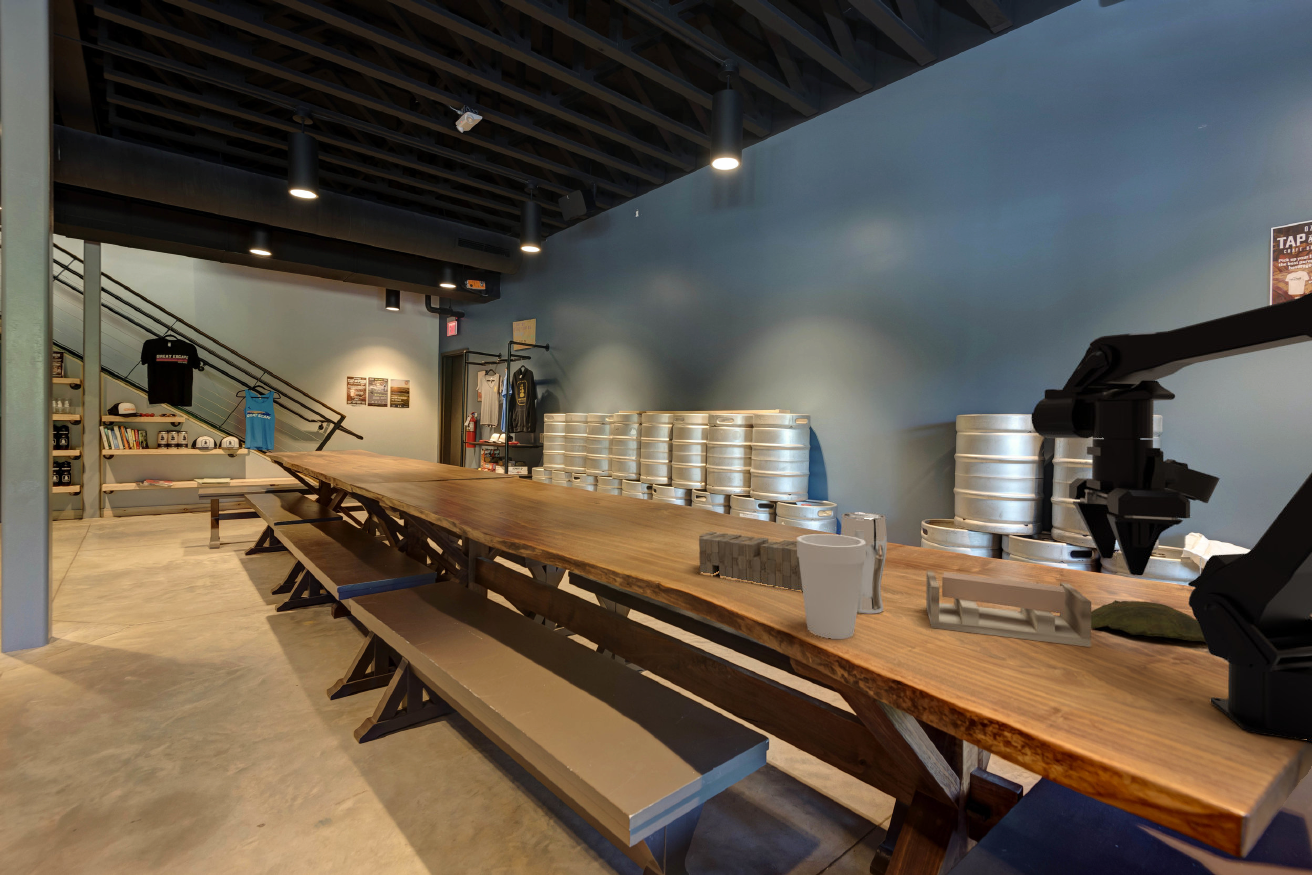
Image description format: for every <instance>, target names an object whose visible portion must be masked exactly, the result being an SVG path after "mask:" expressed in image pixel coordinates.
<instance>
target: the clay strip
mask: <svg viewBox="0 0 1312 875" xmlns="http://www.w3.org/2000/svg"><path fill="white" fill-rule="evenodd" d="M941 577H942V579H941V581H942V582H941V583H942V584H941V585H942V586H941V589H942V590H941V597H942V598H948V599H949V598H950V599H954V598H955V599H962V600H969V601H975V603H976V602H978V603H984V604H992V605H998V606H1005V607H1013V608H1020V609H1021V608H1025V609H1032V610H1039V611H1046V612H1051V613H1052V614H1054V613H1055V614H1060V613H1061V614H1065V592H1064V589H1063V586H1060V585H1053V584H1044V583H1038V582H1030V581H1022V580H1014V579H1013V580H1012V579H1005V578H996V577H988V576H987V577H986V576H982V575H981V576H979V575H971V574H965V573H964V574H963V573H956V572H955V573H954V572H947V571H944V572H943V574H942V576H941Z"/></svg>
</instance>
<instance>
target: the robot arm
mask: <svg viewBox="0 0 1312 875" xmlns="http://www.w3.org/2000/svg"><path fill="white" fill-rule="evenodd" d="M1305 342H1312V291H1311V292H1308V293H1306V294H1304V295H1302V296H1300V297H1297V298H1294V299H1288V300H1286V301H1282V302H1278V303H1274V304H1270V305H1266V306H1265V305H1264V306H1261V307H1258V308H1253V309H1250V310H1245V311H1243V312H1238V313H1235V314H1230V315H1226V316H1222V317H1218V318H1215V319H1214V318H1213V319H1210V320H1206V321H1202V322H1199V323H1195V324H1190V325H1186V326H1183V327H1177V328H1175V329H1172V330H1171V329H1170V330H1166V331H1154V332H1153V331H1152V332H1133V333H1124V334H1111V335H1103V336H1100V337H1097V338H1095V339H1093V340H1092V341H1091V342H1089V346H1088V348H1087V349H1086V351H1085V354H1084V356H1083V357H1082V359H1081V360H1080V362H1079V363H1078V364H1077V366H1076V367H1075V369H1074V371H1073V372H1072V374H1071V375H1070V376H1069V378H1068V379H1067V381H1066V383H1065V385H1064V386H1063V388H1062V389H1059V388H1058V389H1057V388H1051V389H1049V388H1048V389H1045V390H1044V397H1043V398H1042V399H1041V400H1039V401H1038V403H1037V404H1036V405H1035V407H1034V409H1033V412H1032V413H1031V424H1032V427H1033V429H1034V431H1035V432H1036V433H1037V435H1039V436H1041V437H1042V438H1046V439H1089V438H1092V443H1091V444H1092V445H1091V446H1086V455H1088V456H1089V455H1090V456H1091V460H1092V461H1091V466H1092V468H1091V478H1085V477H1081V478H1080V477H1077V478H1075V479H1074V480H1073V481H1071V482H1070V483H1069V484H1068V485H1069V486H1068V498H1070V499H1072V500H1073V501H1072V505H1073V506H1074V507H1075V509H1076V510H1077V513H1078V514H1079V516H1080V519H1082V522H1083V524H1084V525H1085V528H1086V530H1087V532H1088V534H1089V535H1090V537H1091V539H1092V541H1093V543H1094V546H1095V548H1096V550H1097V552H1098V553H1099V556H1100V557H1101V558H1102V559H1109V560H1110V559H1112V558H1113V556H1114V553H1115V548H1116V544H1117V545H1118V548H1119V550H1120V553H1121V555H1122V558H1123V560H1124V562H1125V565H1126V568H1127V571H1128V572H1129V574H1130V575H1133V576H1143V575H1144V574H1145V571H1146V568H1147V566H1148V563H1149V561H1150V559H1151V556H1152V554H1153V551H1154V549H1155V546H1156V544H1157V542H1158V540H1159V538H1160V536H1161V534H1162V533H1163V532H1165V531H1167V530H1168V529H1171V527H1174V526H1175V525H1176V526H1177V525H1181V524H1182V523H1183V522H1184V520H1183V519H1191V501H1194V502H1195V501H1199V502H1202V503H1204V504H1208V503H1209V502H1210V500H1211V497H1212V495H1213V494H1214V491H1215V489H1216V487H1217V485H1218V483H1219V481H1220V478H1219V477H1218V476H1215V475H1211V474H1209V473H1205V472H1202V471H1198V470H1195V469H1192V468H1189V464H1188V463H1186V462H1181V461H1176V459H1171V458H1167V459H1165V460H1164V451H1163V450H1161V448H1160V447H1154V402H1155V401H1173V400H1174V399H1175V398H1176V395H1175V393H1174V392H1172V391H1170V390H1169V389H1167V388H1165V387H1164V386H1162V385H1161V384H1160V382H1159V381H1158V380H1160V379H1162V378H1165V377H1168V376H1171V375H1174V374H1176V373H1177V372H1179V371H1181V370H1182V369H1183V368H1186V367H1188V366H1192V365H1194V364H1198V363H1203V362H1208V361H1214V360H1218V359H1219V360H1220V359H1222V358H1223V359H1225V358H1228V357H1234V356H1239V355H1244V354H1249V353H1255V352H1260V351H1265V350H1269V349H1276V348H1280V347H1285V346H1290V345H1295V344H1300V343H1305ZM1116 542H1117V543H1116ZM1187 585H1188V587H1193V588H1194V589H1192V590H1191V592H1190V595H1189V597H1188V606H1189V608H1191V610H1192V613H1193V616H1194V619H1196V620H1197V621H1198V623H1199V625H1200V628H1201V630H1202V633H1203V636H1204V639H1205V641H1206V642H1205V644H1206V646H1207V647H1206V648H1207V650H1208V652H1209V654H1210V655H1212V656H1214V657H1218V658H1220V659H1223V660H1224V661H1227V662H1228V677H1227V678H1228V679H1227V680H1228V686H1227V687H1228V688H1227V689H1228V691H1227V692H1228V693H1227V695H1228V696H1227V698H1221V697H1210V703H1211V704H1212V705H1213V706H1214V707H1215V708H1217V709H1218V710H1219V711H1221V712H1222V713H1224V715H1225V716H1227V717H1228V718H1229V719H1230V720H1232V721H1233V722H1234V723H1236V724H1237V725H1238V726H1239V727H1240V728H1241V729H1242V730H1245V731H1247V732H1251V733H1256V734H1263V735H1270V736H1275V737H1276V736H1277V737H1283V738H1289V739H1294V738H1295V740H1301V739H1307V740H1308V742H1312V472H1310V474H1309V475H1308V477H1307V478H1306V479H1305V481H1304V482H1303V483H1302V484H1301V485H1300V486H1299V488H1298V489H1297V491H1296V492H1295V493H1294V495H1292V497H1291V499H1290V500H1289V501H1288V502H1287V504H1286V505H1285V506H1284V508H1283V509H1282V510H1281V512H1280V513H1279V514H1278V515H1277V517H1276V518H1275V519H1274V520H1273V522H1271V524H1270V525H1269V527H1268V528H1267V529H1266V531H1265V532H1264V533H1263V534H1262V536H1261V537H1260V538H1259V540H1258V541H1257V542H1256V544H1255V545H1254V546H1253V547H1252V549H1250V550H1249V551H1248V552H1246V553H1233V554H1229V553H1227V554H1212V555H1211V556H1210V557H1209V558H1208V560H1206V562H1205V564H1204V566H1203V569H1202V571H1201V573H1200V574H1199V575H1198V576H1197V577H1196V578H1195V579H1194V580H1192V581H1189V582H1188V583H1187ZM1307 740H1306V741H1307Z"/></svg>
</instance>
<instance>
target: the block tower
mask: <svg viewBox="0 0 1312 875" xmlns="http://www.w3.org/2000/svg"><path fill="white" fill-rule="evenodd" d="M698 536H699V538H698V546H699V549H698V550H699V555H698V556H699V573H700V572H703V573H710V574H714V573H716V572H718V571H719V574H718V575H721V576H726V577H731V578H737V579H741V580H747V581H753V582H756V583H762V584H767V585H773V586H778V587H784V588H788V589H794V590H801V591H803V589H802V580H801V572H800V564H799V557H797V540H788V539H787V540H786V539H785V540H784V539H783V540H782V541H769V538H768V537H759V536H758V537H755V536H747V535H742V534H734V533H724V532H723V533H720V532H717V531H710V532H709V531H708V532H706V533H703V534H700V535H698Z"/></svg>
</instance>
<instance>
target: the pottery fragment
mask: <svg viewBox="0 0 1312 875" xmlns="http://www.w3.org/2000/svg"><path fill="white" fill-rule="evenodd" d="M1104 627H1109V628H1110V629H1111V630H1120V631H1123V632H1125V633H1127V634H1130V635H1132V636H1140V635H1143V636H1146V637H1163V638H1169V639H1177V640H1183V641H1188V642H1204V643H1206V641H1205V639H1204V636H1203V633H1202V630H1201V628H1200V625H1199V623H1198V621H1197V620H1196V618H1195V617H1192V616H1191V615H1189V614H1187V613H1185V612H1182V611H1180V610H1178V609H1176V608H1173V607H1171V606H1169V605H1166V604H1162V603H1157V602H1152V601H1151V602H1150V601H1139V600H1137V601H1136V600H1135V601H1134V600H1132V601H1131V600H1130V601H1129V600H1120V601H1119V600H1116V599H1115V600H1114V601H1111V603H1107V604H1103V605H1102V606H1099V607H1097V608H1095V609H1094V610H1091V630H1098V629H1100V628H1104Z"/></svg>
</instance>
